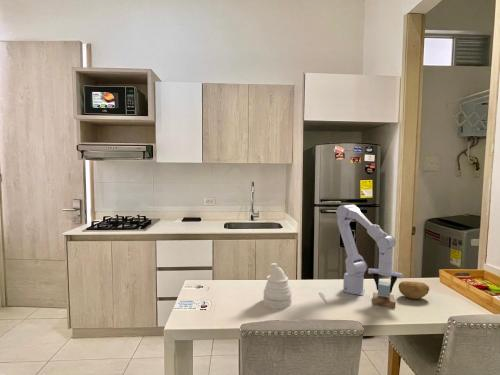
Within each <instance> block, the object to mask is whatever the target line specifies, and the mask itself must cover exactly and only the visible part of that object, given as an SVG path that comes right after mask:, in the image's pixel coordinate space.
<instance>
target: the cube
mask: <svg viewBox="0 0 500 375" xmlns="http://www.w3.org/2000/svg"><path fill="white" fill-rule="evenodd" d="M390 286H391V282H387V281H382V280H379V284H378V290H377V293H378V295H381V296H386V297H390V295H391V293H390Z"/></svg>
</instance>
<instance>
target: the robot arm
mask: <svg viewBox="0 0 500 375" xmlns="http://www.w3.org/2000/svg"><path fill="white" fill-rule="evenodd" d="M335 214H336V217H337V218H336V219H337V222H336V223H337V226H338V229H339V233H340V236H341V239H342V242H343V245H344V250H345V253H346V256H347V257H346V259H345V261H344V262H345V271H346V272H345V273H344V274H343V286H342V288H343V289H342V293H348V294H353V295H358V296H363V295H364V293H365V292H366V291H365V290H366V289H364V280H365V279H364V275H365V272H366V271H367V270H368V271H367V274H372V278H373V280H374V283H375V287H376V291H378V284H379V281H380V276H384V277H390V283H391V286H390V294H391V293H392V291H393V288H394V285H395V283H396V282H397V280H398V279H400V280H401V279H403V272H397V271H394V270H393V255H394V254H393V253H394V247H395V246H396V244H397V243H396V239H395V237H394V236H393V235H390V234H388V233H387V232H385V231H384V230H383V229H382V228H381V226H380V225H379V224H376V223H375V224H373V223H372V222H371V221H370V220H369V219H368V218H367V216H365V215H364V213H363V212H361V209H360V208H359V207H358V206H357V205H356V204H354V203H353V204H344V205H339V206H338V207H337V209H336V211H335ZM353 219H354V220H356V221H357V222H358V223H359V224H361V225H362V226H363V227H364V228H365V229H366V233H367V234H368V235H369V236H370V237H371V238H372V239H373V240H374V241H375V242H376V245H377V247H378V268H372V267H371V268H368V264H367V263H366V261H365V260H364V257H363V256H362V254H359V250H358V248H357V244H356V241H355V239H354V235H353V233H352V232H353V231H352V228H351V226H350V223H351V222H352V220H353Z"/></svg>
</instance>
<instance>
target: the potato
mask: <svg viewBox="0 0 500 375" xmlns="http://www.w3.org/2000/svg"><path fill="white" fill-rule="evenodd" d="M398 290H399V293H401V295H403V297H405V298H408V299H411V300H418V299H421V298H423V297H425V296H427V295H428V294H429V291H430V286H429V285H428V284H426V283H424V282H419V281H411V280H410V281H404V280H403V281H401V282H399V284H398Z"/></svg>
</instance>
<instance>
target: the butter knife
mask: <svg viewBox="0 0 500 375" xmlns="http://www.w3.org/2000/svg"><path fill="white" fill-rule="evenodd" d="M318 295H319V296H320V298H321V300H323V302H324V303H325V304H327V305H329V303H328V301H327V298H326V296H325V294H324V293H323V292H321V291H320V292H318Z"/></svg>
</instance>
